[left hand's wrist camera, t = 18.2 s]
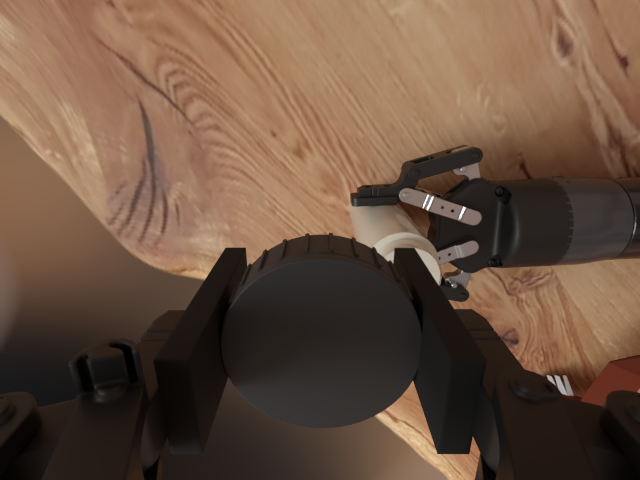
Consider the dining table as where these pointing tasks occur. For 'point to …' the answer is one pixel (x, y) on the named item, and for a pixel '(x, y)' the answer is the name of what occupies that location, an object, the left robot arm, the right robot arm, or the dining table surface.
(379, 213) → the bottle
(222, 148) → the dining table surface
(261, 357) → the lid
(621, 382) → the decorative bird
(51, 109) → the dining table surface
